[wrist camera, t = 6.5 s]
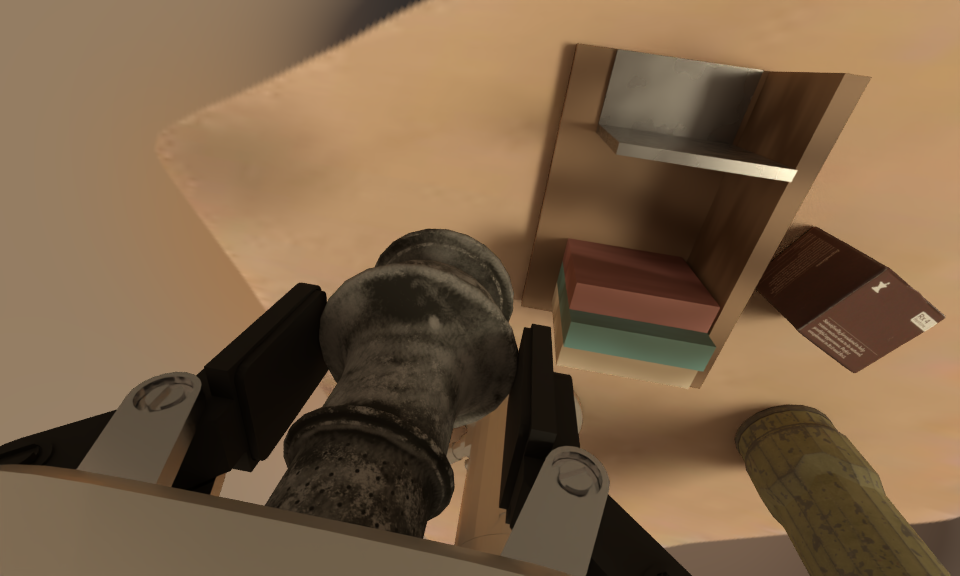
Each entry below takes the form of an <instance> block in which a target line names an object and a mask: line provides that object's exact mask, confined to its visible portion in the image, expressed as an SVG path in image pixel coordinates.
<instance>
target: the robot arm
mask: <svg viewBox="0 0 960 576" xmlns="http://www.w3.org/2000/svg"><path fill="white" fill-rule="evenodd" d="M326 304H327V297H326V293H325V292H324V291H321V288H320V286H318V285H312V284H307V283H298V284H297V285H295V286H294V287H293V288H292V289H291V290H290V291H289V292H288V293H286V294H285V295H284V296H283V297H282V298H281V299H280V300H279V301H277V302H276V303H275V304H274V305H273V306H272V307H271V308H270V309H268V310H267V311H266V312H265V313H264V314H263V315H262V316H261V317H259V319H257V320H256V321H255V322H254V323H253V324H252V325H250V326H249V327H248V328H247V329H246V330H245V331H244V332H242V333H241V335H239V336H238V337H237V338H236V339H235V340H234V341H232V342H231V343H230V344H229V345H228V346H227V347H226V348H224V349H223V350H222V351H221V352H220V353H219V354H218V355H217V356H215V357H214V358H213V359H212V360H211V361H210V362H209V363H208V364H206V365H205V366H204V369H203V370H202V371H201V372H200V373H198V374H197V375H194V374H190V373H187V372H173V373H165V374H162V375H159V376H155V377H153V378H151V379H148V380H146V381H144V382H142V383H141V384H139V385H138V386H136V387H135V388H133V389H132V390H131V391H130V393H129V394H128V395H127V396H126V397H125V399H124V400H123V402H122V403H121V405H120V406H119V408H118V409H117V410H114V411H111V412H107V413H104V414H101V415H97V416H94V417H90V418H87V419H84V420H81V421H77V422H74V423H70V424H67V425H64V426H60V427H57V428H53V429H50V430H47V431H44V432H40V433H37V434H33V435H30V436H27V437H23V438H20V439H17V440H14V441H12V442H9V443H6V444H4V445H2V446H0V576H692V575H691V574H690V573H689V572H688V571H686V569H685V568H683V566H681V565H680V564H679V563H678V562H677V561H676V560H675V559H674V558H673V557H672V556H671V555H670V554H669V553H668V552H667V551H666V550H665V549H664V548H663V547H662V546H661V545H660V544H659V543H658V542H657V541H656V540H655V539H654V538H653V537H652V536H651V535H650V534H649V533H647V532H646V531H645V530H644V529H643V528H642V527H641V526H640V525H639V524H638V523H637V522H636V521H635V520H634V519H633V518H632V517H631V516H630V515H629V514H628V513H627V512H626V511H625V510H624V509H623V508H622V507H621V506H620V505H619V504H618V503H617V502H616V501H615V500H613V499H612V498H611V497H610V496H609V495H608V492H609V484H610V481H609V477H608V474H607V471H606V470H605V468H604V466H603V465H602V463H601V462H600V461H599V460H598V459H597V458H596V457H595V456H594V455H592V454H590V453H589V452H587V451H586V450H583V449H581V448H580V443H579V432H580V430H581V428H582V423H583V415H582V408H581V403H580V401H579V398H578V396H577V394H576V393H575V392H574V391H573V383H572V377H571V376H570V375H566V374H561V373H556V372H553V356H552V339H551V327H548V326H542V325H537V324H532V326H531V328H526V327H524V330H523V334H522V339H521V343H520V348H519V352H518V366H517V370H516V375H515V379H514V383H513V386H512V389H511V391H510V394H509V395H508V396H507V397H506V398H505V400H504V401H503V402H502V403H501V404H500V405H499V406H498V408H497V409H496V410H494V411H493V412H491V413H489V414H488V415H486V416H485V417H483V418H482V419H480V420H479V421H476V422H473V423H470V424H467V425H465V426H466V428H467V433H466V434H464V435H462V436H461V439H460V441H458V442H454V443H452V444H450V445H449V447H448V452H447V459H448V461H449V463H450V464H453V463H455V462H457V461H459V460H461V459H462V458H464V457H466V456H467V457H469V459H467V460H466V461H465V467H466V469H467V473H466V479H465V485H464V491H463V497H462V503H461V508H460V514H459V520H458V526H457V532H456V538H455V544H454V545H450V544H445V543H441V542H436V541H431V540H426V539H422V538H417V537H412V536H408V535H403V534H398V533H393V532H389V531H384V530H379V529H374V528H370V527H365V526H360V525H355V524H350V523H346V522H341V521H336V520H331V519H326V518H321V517H316V516H312V515H307V514H302V513H297V512H292V511H287V510H282V509H277V508H272V507H268V506H263V505H257V504H253V503H248V502H243V501H238V500H233V499H228V498H223V497H219V495H220V492H221V488H222V485H223V482H224V479H225V474H226V473H227V472H229V471H231V469H238V470H242V471H248V472H252V471H253V469H254V468H255V466H256V465H257V464H258V462H259V461H260V460H261V461H263V460H265V459H266V458H267V457H268V456H269V455H270V453H271V452H272V451H273V449H274V448H275V446H276V445H277V443H278V442H279V441H280V439H281V438H282V436H283V435H284V433H285V432H286V431H287V429H288V428H289V426H290V425H291V423H292V422H293V420H294V419H295V418H296V416H297V415H298V413H299V412H300V410H301V409H302V408H303V406H304V405H305V403H306V402H307V400H308V399H309V397H310V396H311V395H312V393H313V392H314V390H315V389H316V387H317V386H318V385H319V383H320V382H321V380H322V379H323V377H324V376H325V374H326V373H327V371H328V370H329V369H328V367H327V365H326V363H325V361H324V359H323V355H322V350H321V346H320V342H319V329H320V318H321V315H322V313H323V311H324V309H325V306H326Z"/></svg>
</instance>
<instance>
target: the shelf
mask: <svg viewBox="0 0 960 576" xmlns="http://www.w3.org/2000/svg"><path fill="white" fill-rule="evenodd" d="M616 52H617V49H612V48H605V47H598V46H592V45H585V44H577V45H576V49H575V54H574V59H573V63H572V68H571V73H570V77H569V82H568V87H567V91H566V96H565V101H564V105H563V110H562V115H561V119H560V124H559V129H558V133H557V138H556V143H555V147H554V152H553V157H552V161H551V166H550V171H549V175H548V180H547V185H546V189H545V194H544V199H543V203H542V208H541V213H540V217H539V222H538V227H537V231H536V236H535V241H534V245H533V250H532V255H531V259H530V264H529V269H528V273H527V278H526V283H525V287H524V292H523V297H522V304H521V306H523V307H529V308H535V309H540V310H546V311H552V312H553V325H554V339H555V353H556V365H558V366H563V367H569V368H574V369H580V370H586V371H591V372H597V373H602V374H608V375H613V376H619V377H624V378H630V379H635V380H641V381H647V382H652V383H658V384H663V385H669V386H674V387H680V388H685V389H689V387H692V388H698V389H700V387H701V386H702V384H703V382H704V380H705V378H706V377H707V375H708V373H709V371H710V369H711V368H712V366H713V364H714V362H715V360H716V358H717V357H718V355H719V353H720V351H721V349H722V348H723V346H724V344H725V342H726V340H727V338H728V337H729V335H730V333H731V331H732V329H733V328H734V326H735V324H736V322H737V320H738V319H739V317H740V315H741V313H742V311H743V309H744V308H745V306H746V304H747V302H748V300H749V299H750V297H751V295H752V293H753V291H754V289H755V288H756V286H757V284H758V282H759V280H760V279H761V277H762V275H763V273H764V271H765V270H766V268H767V266H768V264H769V262H770V260H771V259H772V257H773V255H774V253H775V251H776V250H777V248H778V246H779V244H780V242H781V240H782V239H783V237H784V235H785V233H786V231H787V230H788V228H789V226H790V224H791V222H792V221H793V219H794V217H795V215H796V213H797V211H798V210H799V208H800V206H801V204H802V202H803V201H804V199H805V197H806V195H807V193H808V192H809V190H810V188H811V186H812V184H813V182H814V181H815V179H816V177H817V175H818V173H819V172H820V170H821V168H822V166H823V164H824V162H825V161H826V159H827V157H828V155H829V153H830V152H831V150H832V148H833V146H834V144H835V143H836V141H837V139H838V137H839V135H840V133H841V132H842V130H843V128H844V126H845V124H846V123H847V121H848V119H849V117H850V115H851V113H852V112H853V110H854V108H855V106H856V104H857V103H858V101H859V99H860V97H861V95H862V94H863V92H864V90H865V88H866V86H867V84H868V83H869V81H870V79H871V77H868V76H861V75H854V74H847V73H812V72H769V71H763V73H762V75H761V78H760V80H759V82H758V85H757V87H756V90H755V92H754V94H753V97H752V99H751V101H750V104H749V106H748V108H747V111H746V113H745V115H744V118H743V120H742V122H741V125H740V127H739V129H738V132H737V134H736V136H735V139H734V141H733V143H732V145H735V146H737V147H740V148H743V149H745V150H748V151H750V152H753V153H755V154H758V155H760V156H763V157H765V158H768V159H770V160H773V161H775V162H778V163H780V164H783V165H785V166H788V167H790V168H793V169H795V170H798V171H797V173H796V175H795V176H794V178H793V180H792V182H787V181H781V180H775V179H768V178H762V177H756V176H749V175H743V174H737V173H730V172H724V171H717V170H711V169H705V168H698V167H692V166H686V165H679V164H673V163H667V162H660V161H654V160H648V159H641V158H635V157H629V156H622V155H616V154H615V153H614V152H613V151H612V150H611V149H610V147H609V146H608V145H607V144H606V143H605V142H604V141H603V140H602V139H601V138H600V137H599V135H598V134H597V133H596V129H597V125H598V122H599V118H600V114H601V110H602V106H603V102H604V99H605V95H606V91H607V87H608V83H609V79H610V75H611V72H612V68H613V64H614V60H615V56H616Z"/></svg>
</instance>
